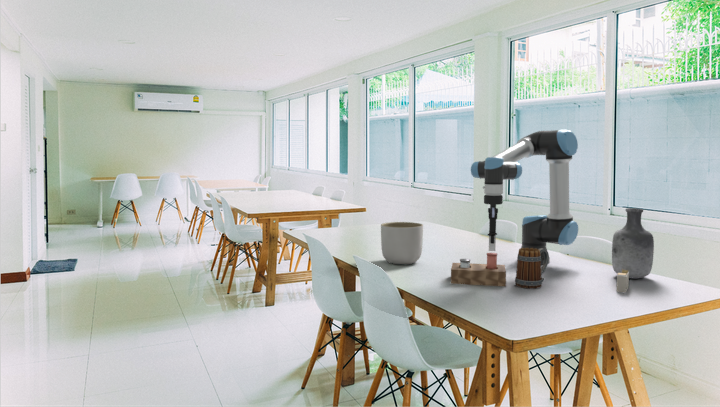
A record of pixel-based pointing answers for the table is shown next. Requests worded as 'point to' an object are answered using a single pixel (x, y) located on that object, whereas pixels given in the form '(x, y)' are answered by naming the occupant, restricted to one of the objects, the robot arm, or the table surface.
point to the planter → (401, 242)
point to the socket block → (478, 275)
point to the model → (622, 281)
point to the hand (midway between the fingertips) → (491, 250)
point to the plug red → (491, 260)
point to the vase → (633, 247)
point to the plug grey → (464, 263)
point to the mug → (530, 268)
